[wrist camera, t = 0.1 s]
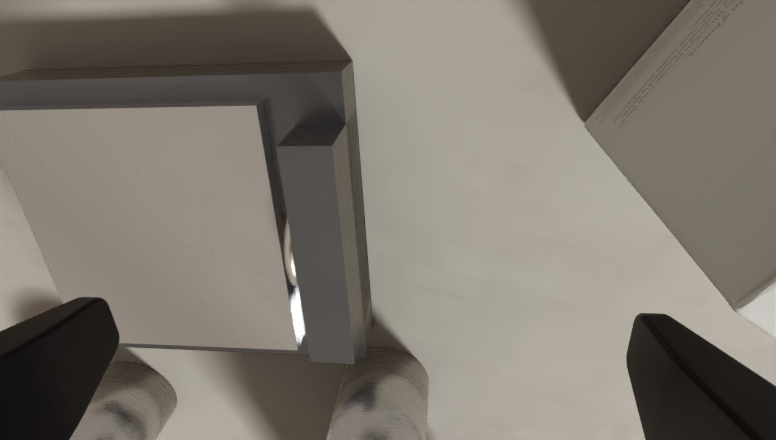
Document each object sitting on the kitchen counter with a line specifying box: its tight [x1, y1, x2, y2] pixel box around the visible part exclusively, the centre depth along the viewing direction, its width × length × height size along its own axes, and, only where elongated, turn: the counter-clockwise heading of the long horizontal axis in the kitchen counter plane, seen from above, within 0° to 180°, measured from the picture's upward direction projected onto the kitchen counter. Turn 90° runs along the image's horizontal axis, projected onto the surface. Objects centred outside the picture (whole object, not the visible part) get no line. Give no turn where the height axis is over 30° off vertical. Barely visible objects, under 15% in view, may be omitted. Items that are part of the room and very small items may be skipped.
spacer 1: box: [70, 362, 177, 440], centre depth 29 cm, size 5×5×6 cm
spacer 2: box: [326, 347, 429, 440], centre depth 26 cm, size 5×5×6 cm
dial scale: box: [0, 61, 373, 364], centre depth 23 cm, size 14×15×5 cm
